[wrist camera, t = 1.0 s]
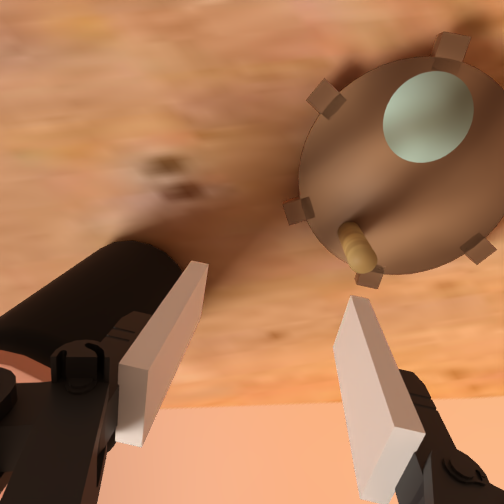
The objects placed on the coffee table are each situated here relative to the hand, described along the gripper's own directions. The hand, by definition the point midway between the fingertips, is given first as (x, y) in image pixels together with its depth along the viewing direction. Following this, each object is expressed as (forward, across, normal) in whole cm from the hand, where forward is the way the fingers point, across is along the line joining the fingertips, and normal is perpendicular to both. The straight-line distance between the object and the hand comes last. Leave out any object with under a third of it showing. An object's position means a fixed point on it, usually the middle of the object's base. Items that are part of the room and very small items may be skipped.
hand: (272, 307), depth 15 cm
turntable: (+15, +8, +5) cm, 18 cm away
